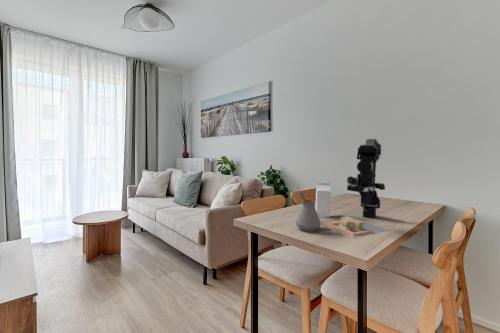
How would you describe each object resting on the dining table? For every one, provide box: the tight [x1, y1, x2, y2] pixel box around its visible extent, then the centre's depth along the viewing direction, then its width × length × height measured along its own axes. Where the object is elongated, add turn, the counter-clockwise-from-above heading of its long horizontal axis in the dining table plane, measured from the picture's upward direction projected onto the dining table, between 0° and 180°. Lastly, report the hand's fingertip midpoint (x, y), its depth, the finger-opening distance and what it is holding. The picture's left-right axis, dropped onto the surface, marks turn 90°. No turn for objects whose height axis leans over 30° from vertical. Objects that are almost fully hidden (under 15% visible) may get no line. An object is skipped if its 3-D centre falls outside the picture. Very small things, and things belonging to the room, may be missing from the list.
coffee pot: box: [295, 191, 322, 232], centre depth 118 cm, size 21×12×15 cm, turn 2°
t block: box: [338, 216, 366, 232], centre depth 110 cm, size 8×10×4 cm
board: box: [325, 221, 389, 239], centre depth 113 cm, size 21×18×2 cm
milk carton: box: [315, 181, 332, 219], centre depth 135 cm, size 7×7×19 cm
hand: (365, 205), depth 114 cm, fingers closed
